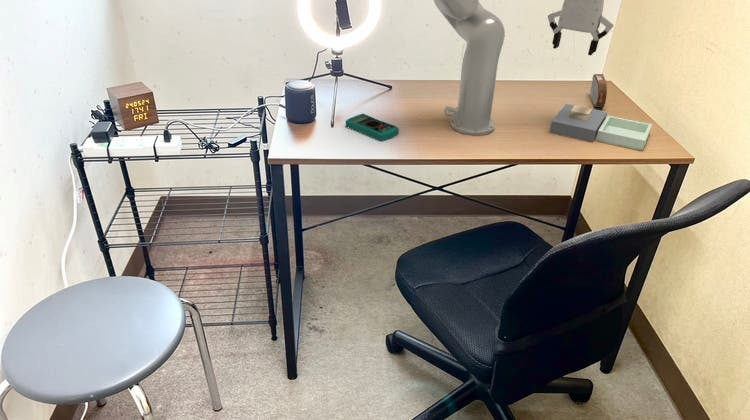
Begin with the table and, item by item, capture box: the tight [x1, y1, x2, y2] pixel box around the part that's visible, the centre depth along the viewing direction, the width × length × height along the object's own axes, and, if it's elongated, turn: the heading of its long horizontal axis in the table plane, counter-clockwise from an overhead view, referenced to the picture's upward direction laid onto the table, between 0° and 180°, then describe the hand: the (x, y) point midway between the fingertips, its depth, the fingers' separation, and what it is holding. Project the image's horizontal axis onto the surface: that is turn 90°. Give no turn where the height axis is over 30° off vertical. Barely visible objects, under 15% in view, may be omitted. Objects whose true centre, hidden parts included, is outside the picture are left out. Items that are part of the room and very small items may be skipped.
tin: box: [590, 73, 608, 109], centre depth 175 cm, size 15×3×8 cm, turn 168°
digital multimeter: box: [345, 113, 400, 142], centre depth 155 cm, size 7×15×3 cm, turn 47°
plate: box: [548, 103, 608, 143], centre depth 159 cm, size 12×16×4 cm
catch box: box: [595, 115, 653, 152], centre depth 154 cm, size 12×13×3 cm
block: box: [569, 104, 593, 121], centre depth 158 cm, size 5×5×2 cm
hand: (573, 50), depth 152 cm, fingers open, 9 cm apart
